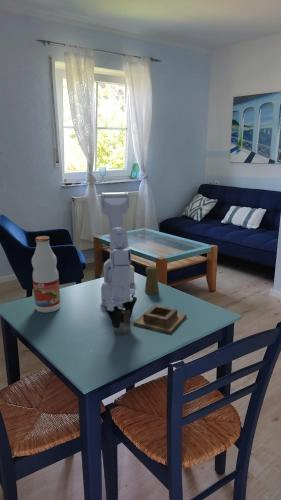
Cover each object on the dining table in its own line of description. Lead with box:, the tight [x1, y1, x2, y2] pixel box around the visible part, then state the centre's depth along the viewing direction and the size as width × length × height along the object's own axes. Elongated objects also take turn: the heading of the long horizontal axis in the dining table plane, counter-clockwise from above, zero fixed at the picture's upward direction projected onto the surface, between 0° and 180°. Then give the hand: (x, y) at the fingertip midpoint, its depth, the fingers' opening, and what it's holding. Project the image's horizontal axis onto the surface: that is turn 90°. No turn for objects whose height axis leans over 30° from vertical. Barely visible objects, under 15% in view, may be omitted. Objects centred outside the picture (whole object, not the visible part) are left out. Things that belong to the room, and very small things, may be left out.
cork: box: [144, 265, 160, 295], centre depth 160 cm, size 6×6×11 cm
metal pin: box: [113, 307, 131, 336], centre depth 126 cm, size 4×4×8 cm
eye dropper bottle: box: [129, 264, 135, 285], centre depth 169 cm, size 4×6×12 cm
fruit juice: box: [31, 235, 61, 314], centre depth 142 cm, size 9×9×28 cm
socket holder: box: [133, 304, 187, 335], centre depth 134 cm, size 14×14×4 cm
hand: (122, 322), depth 126 cm, fingers open, 7 cm apart
